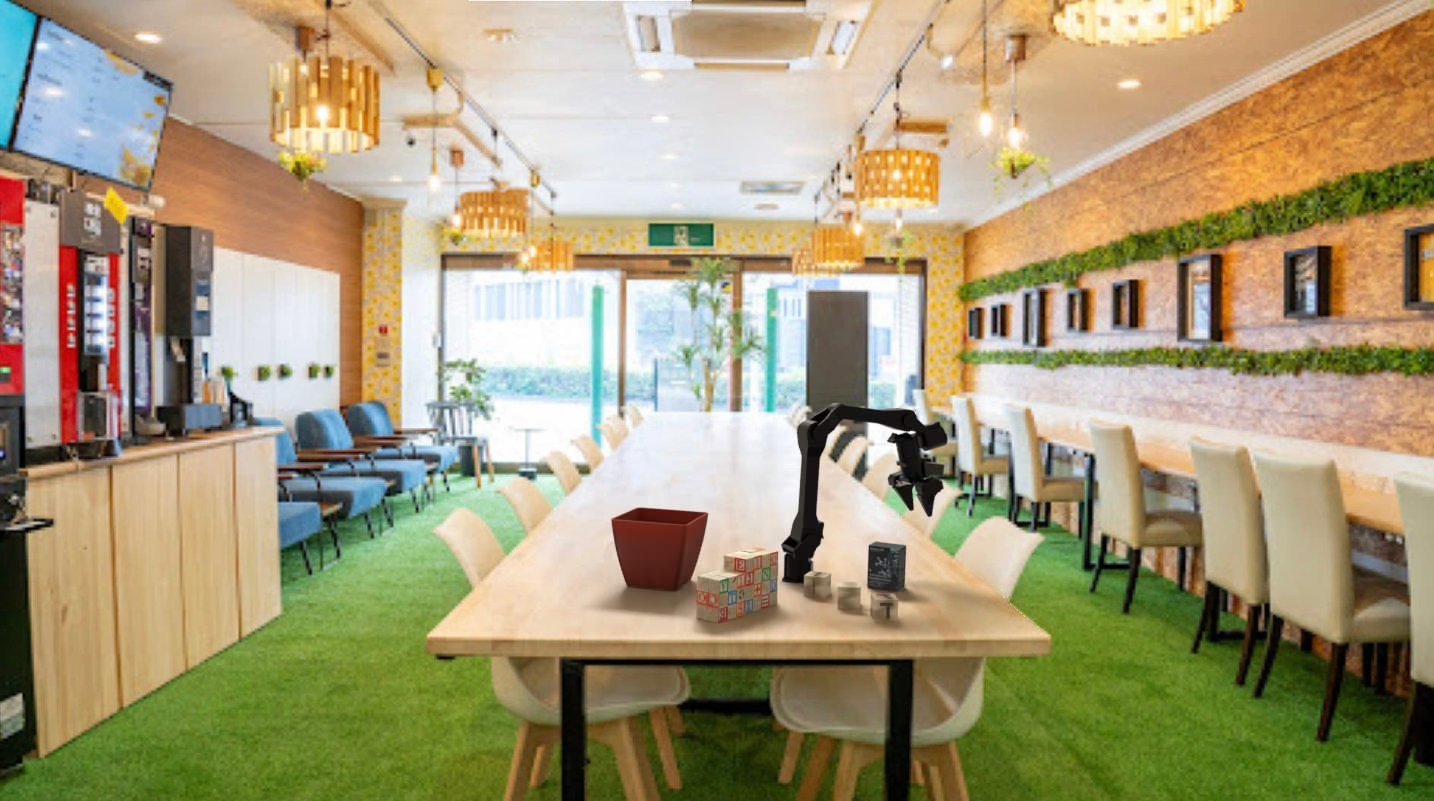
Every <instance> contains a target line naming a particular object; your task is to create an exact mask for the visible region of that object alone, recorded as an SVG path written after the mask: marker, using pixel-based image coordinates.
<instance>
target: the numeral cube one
mask: <svg viewBox="0 0 1434 801" xmlns="http://www.w3.org/2000/svg"><path fill="white" fill-rule="evenodd" d="M831 590H832V573H830V572H823V571H815V570H813V571H810V572H809V573H807V574H806V575H804V583H803V596H804V597H810V598H820V599H825V598H827V597H828V596H830V595H831V594H832V591H831Z"/></svg>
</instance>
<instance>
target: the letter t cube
mask: <svg viewBox="0 0 1434 801" xmlns="http://www.w3.org/2000/svg"><path fill="white" fill-rule="evenodd" d="M869 609H870V611H869V615H870V618H871V619H872V620H873V622H874V623H876V622H877V623H898V622H899V619H898V618H899V599H898V597H897V596H896V594H895V593H880V592H879V593H878V592H877V593H876V592H875V593H873V592H872V593H870V608H869Z"/></svg>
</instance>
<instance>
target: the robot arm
mask: <svg viewBox="0 0 1434 801" xmlns="http://www.w3.org/2000/svg"><path fill="white" fill-rule="evenodd" d="M843 420H845V421H846V420H847V421H855V422H863V423H868V424H869V423H870V424H877V425H881V426H883V427H886V428H888V429H889V428H890V429H892V430H894V431H895V430H896V431H900V432H901V431H902V433H896V432H891V434H890V436H889V437H888V438H887V440H886V441H887V443H889V444H895V447H896V453H897V457H898V460H896V461H895V462H896V466H900V471H895V472H892V473H889V475H888V477H887V483H888V486H891V489H892V490H894V492H895V493H896V495H897V496H898V497H899V498H900V500H901V501H902V502H903V503H904V505H905V506H906V508H907V509H908V511H910V512H912V511H914V509H915V508H914V507H915V504H914V492H913V489H914V490H915V492H916V494H915V495H916V498H917V499H918V501H919V503H920V505H921V507H922V509H923V511H924V513H925V514H926V517H928V518H931V517H932V516H933V512H934V507H935V506H934V504H935V498H936V496H937V495H938V494H939V493H940V492H942V490H944V482H943V480H941V479H939V477H941V478H942V477H944V472H945V464H943V463H939V462H934V461H932V459H931V458H930V457H922V454H921V449H922V451H924V452H929V451H931V450H935V449H938V448H942V447H945V446H947V444H948V442H949V441H948V434H947V433H946V431H945V429H944V427H943V426H942V425H941V421H938V420H934V421H931V422H929V423H926V424H924V423H923V422H921V420H920V419H918V416H917V414H916V412H915V411H914V410H912V409H908V408H902V407H901V408H900V407H891V408H883V409H881V408H879V409H878V408H877V409H875V408H870V407H869V408H868V407H860V406H856V405H855V406H853V405H845V404H843V403H838V402H833V403H831V404H829V405H828V406H826V407H825V408H824V409H822V410H820V411H819V412H818V413H816V414H815V415H813V416H812V417H810V418H809V419H806V420H803V421H801V423H799V424H798V426H797V428H796V439H797V446H798V448H799V451H800V452H799V453H800V455H801V456H800V457H801V460H800V462H801V463H800V476H799V477H800V478H799V490H798V504H797V506H798V508H797V513H796V515H795V517H794V519H793V522H792V525H791V530H790V533H789V535H788V536H787V537H786V538H785V540H784V541H783V542H782V543H781V544H780V547H781V549H782V552H783V553H785V554H784V555H783V577H781V581H782V582H793V583H803V584H804V575H806V574H807V573H809V572H810V571H814V560H812V559H814V556H815V554H816V551H817V549H818V548H819V547H820V545H821V544H822V540H824V539H825V538H824V537H825V536H824V528H825V522H824V521H821V520H819V519H818V513H817V512H818V510H817V509H818V496H819V495H818V494H819V493H818V492H819V481H820V480H819V478H820V464H821V457H822V455H823V452H824V451H825V449H826V446H827V441H828V437H829V435H830V434H832V432H833V431H835V430H836V428H837V427H838V425H839V424H840V423H841V422H842V421H843ZM909 432H914V433H909ZM933 476H939V477H937V478H936V477H933Z"/></svg>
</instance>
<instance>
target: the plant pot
mask: <svg viewBox="0 0 1434 801" xmlns="http://www.w3.org/2000/svg"><path fill="white" fill-rule="evenodd" d="M708 518H709V512H707V511H706V512H705V511H695V510H684V509H683V510H682V509H681V510H680V509H667V508H657V507H656V508H655V507H642V506H641V507H635V508H633V509H631V510H628V511H625V512H624V513H621V514H619V515H616V516H614V517H612V518H611V519H610V521H611V528H612V535H613V542H614V543H613V544H614V547H615V552H616V555H617V556H616V557H617V560H618V563H619V567H620V570H621V573H622V577H623V580H624V582H625V585H626V586H627V587H630V588H631V587H632V588H639V589H650V590H658V591H659V590H660V591H668V592H676V591H678V590H680V589H681V588H682V587H683V586H685V585H686V584H687V583H689V582H690V581H691V580H692V578H693V575H694V572H695V570H696V567H697V564H698V561H699V557H700V554H701V550H702V546H703V543H704V539H705V534H706V530H707V524H708Z"/></svg>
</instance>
